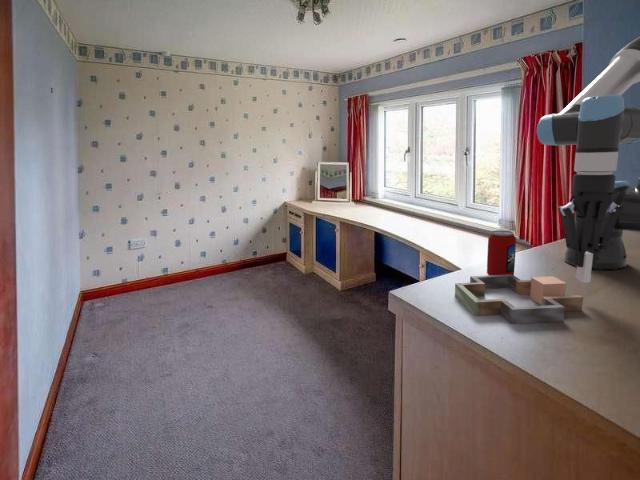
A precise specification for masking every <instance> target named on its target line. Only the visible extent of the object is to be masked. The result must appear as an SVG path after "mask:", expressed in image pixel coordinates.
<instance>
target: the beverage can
mask: <svg viewBox="0 0 640 480" xmlns="http://www.w3.org/2000/svg"><path fill="white" fill-rule="evenodd" d="M487 240H488V241H487V257H486V258H487V261H486V274H487V276H488V275H509V274H512V275H514V276H515V267H516V266H515V265H516V264H515V263H516V252H517V251H516V249H517V238H516V236H515V234H514V231H510V230H502V229H500V230H492V231H491V233H490V235H489V236H488V239H487Z"/></svg>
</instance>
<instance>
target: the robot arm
mask: <svg viewBox="0 0 640 480" xmlns="http://www.w3.org/2000/svg"><path fill="white" fill-rule="evenodd" d="M638 83H640V36H638V37H637V38H635V39H634V40H632V41H631V42H629V43H628V44H626V45H625V46H623V47H622V49H620V50H619V51H618V52H616V53H615V54H614V55H613V56H612V58H611V59H610V62H609V63H608V66H607V67H606V68H605V69H604V70H603V71H602V72H601V73H600V74H599V75H598V76H597V77H596V78H595V79H594V80H593V81H591V83H589V84H588V85H587V86H585V88H584V89H583V90H582V91H581V92H580V93H579V94H578V95H577V96H576V97H575V98H574V99H572V101H570V103H568V105H566V107H564V108H563V109H562V110H561V111H560V112H558V113H551V114H546V115H544V116H542V117H541V118H540V119H539V121H538V123H537V125H536V126H537V127H536V135H537V139H538V141H539V142H540V144H541V145H545V146H556V147H558V146H573V145H576V148H575V154H574V155H575V156H574V166H573V167H574V168H573V171H574V172H576V173H575V174H574V175H572V186H571V190H572V191H571V192H572V195H571V197H570V199H569V202H567V204H566V205H564V206H563V205H559V206H558V208H557V210H558V212H559V214H560V216H561V219H562V226H563V232H564V239H565V246H566V250H565V252H564V259H563V260H565V261H566V262H565V261H564V262H565V263H567V264H569V265H573V266H575V267H576V272H575V280H576V281H579V282H581V283H583V284H584V283H586V284H587V283H591V275H592V270H603V269H613V270H619V269H618V268H622V267H625V266H626V265H627V266H628V255H627V251H626V247H625V245H624V240H623V235H624V234H623V233H624V231H627V232H635V233H640V177H638V180H637V182H636V183H637V184H636V186H630V183H629V181H628V180H616V175H615V174H613V172H616V171H617V168H618V161H619V159H618V158H619V150H620V149H619V148H620V145H621V144H622V145H627V144H628V145H630V144H631V145H632V144H634V143H638V142H640V108H639V107H636V106H635V107H625V98H624V96H623V94H624V93H625V92H626V91H627V90H628V89H629V88H630V87H632V85H633V84H634V85H635V84H638ZM627 266H626V267H627ZM626 267H625V268H626ZM592 268H593V269H592ZM622 269H623V268H622Z"/></svg>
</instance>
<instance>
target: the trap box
mask: <svg viewBox="0 0 640 480" xmlns="http://www.w3.org/2000/svg"><path fill="white" fill-rule="evenodd" d="M469 278H470V279H469V282H459V283H455V285H454V296H455V297H456V298H457V299H458V300H459V302H460V303H462V304H463V305H464V307H466V309H468V311H469V312H470V313H472V314H473V315H474V316H475V317H480V316H498V315H501V316H502V317H503V318H504V319H506V321H508V323H510V324H511V325H514V324H515V325H517V324H534V323H535V324H536V323H537V324H538V323H554V322H557V323H558V322H564V320H565V319H564V317H565V312H580V311H581V312H582V311H583V302H584V296H582V295H580V294H575V295H573V294H572V295H571V294H570V295H565V296H550V297H542V305H534V306H529V305H528V306H515V305H514V304H512V303H511V302H509V301H508V300H507V299H506V298H494V299H493V298H492V299H479V298H477V297H485V293H486V289H488V290H489V289H508V288H509V289H510V290H511V291H513V292H515V293H516V294H517V295H527V294H528V295H530V290H531V279H520V278H519V277H517V276H515V274H514V275H512V274H509V275H488V274H487V275H471V276H470V277H469Z"/></svg>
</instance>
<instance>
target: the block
mask: <svg viewBox="0 0 640 480" xmlns="http://www.w3.org/2000/svg"><path fill="white" fill-rule="evenodd" d="M530 280H531V290H530V294H529V299H530V300H533V301H534V302H535V303H537V304H538V305H539V306H541V305H542V297H550V296H566V288H567V282H565V281H563V280H561V279H559V278H557V277H555V276H553V275H551V276H549V275H548V276H531V278H530Z"/></svg>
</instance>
